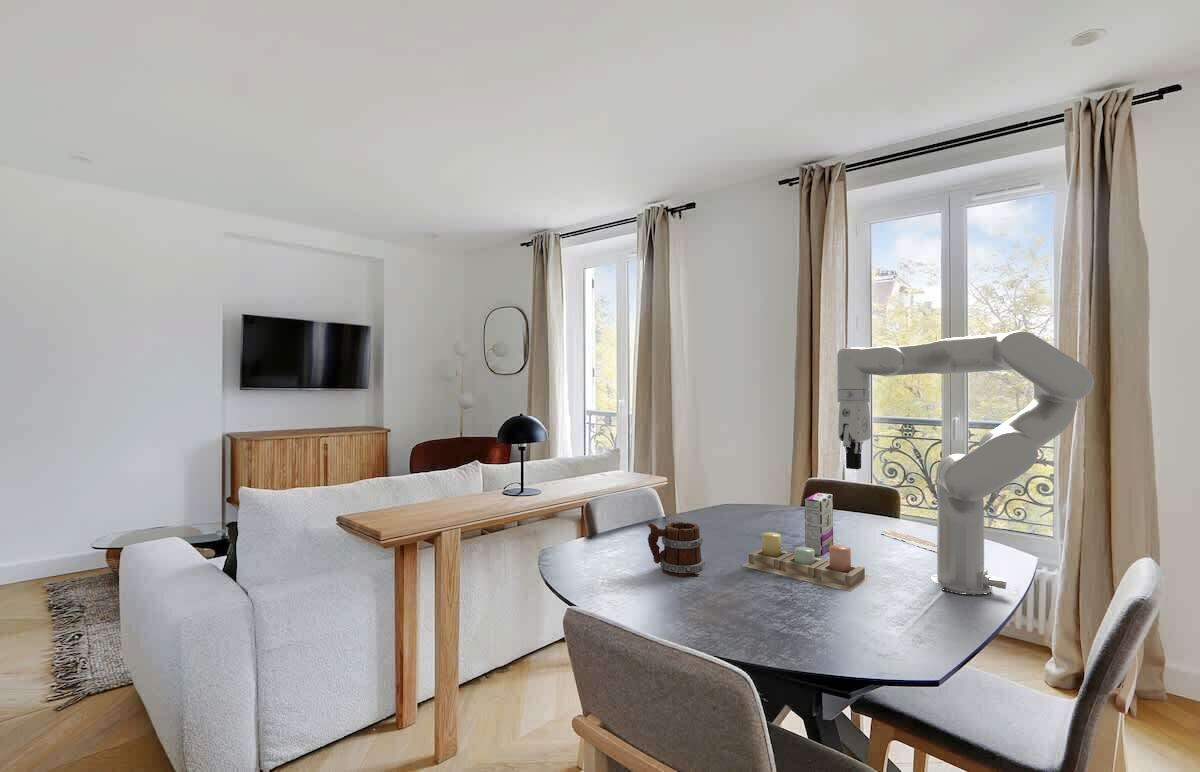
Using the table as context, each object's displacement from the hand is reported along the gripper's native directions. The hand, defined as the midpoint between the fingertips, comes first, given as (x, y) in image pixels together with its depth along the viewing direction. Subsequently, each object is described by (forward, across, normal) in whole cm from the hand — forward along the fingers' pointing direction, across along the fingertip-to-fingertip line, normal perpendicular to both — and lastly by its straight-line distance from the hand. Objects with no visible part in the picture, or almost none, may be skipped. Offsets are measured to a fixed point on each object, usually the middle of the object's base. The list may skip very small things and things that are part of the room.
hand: (853, 468), depth 150 cm
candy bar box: (+27, +12, +14) cm, 33 cm away
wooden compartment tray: (+27, -9, +9) cm, 30 cm away
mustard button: (+23, -9, +18) cm, 31 cm away
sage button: (+26, -9, +9) cm, 28 cm away
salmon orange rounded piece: (+23, -9, 0) cm, 25 cm away
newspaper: (+28, +43, -4) cm, 51 cm away
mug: (+27, -28, +35) cm, 52 cm away
